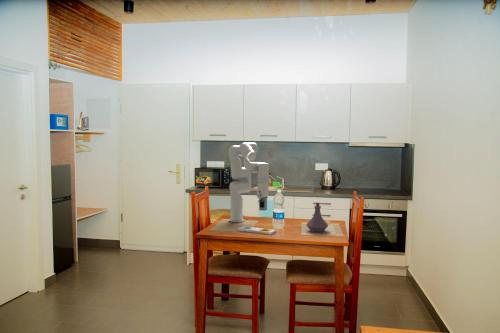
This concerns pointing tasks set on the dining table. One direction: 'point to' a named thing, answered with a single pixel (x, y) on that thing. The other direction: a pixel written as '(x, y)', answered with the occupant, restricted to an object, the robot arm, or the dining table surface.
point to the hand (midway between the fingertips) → (263, 206)
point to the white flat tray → (256, 230)
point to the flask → (317, 221)
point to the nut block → (264, 205)
